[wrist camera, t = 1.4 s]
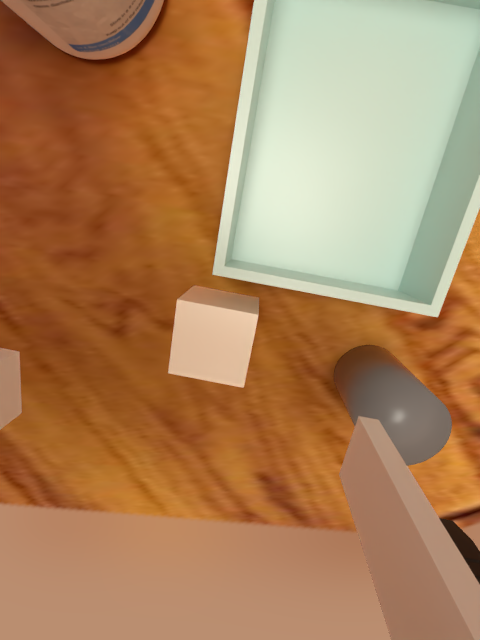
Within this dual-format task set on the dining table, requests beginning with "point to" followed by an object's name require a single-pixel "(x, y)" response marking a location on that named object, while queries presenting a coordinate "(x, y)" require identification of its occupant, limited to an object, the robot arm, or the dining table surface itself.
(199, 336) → the tan cube
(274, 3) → the teal tote
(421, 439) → the charcoal cylinder
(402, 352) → the dining table surface
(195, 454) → the dining table surface
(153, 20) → the supplement tub
